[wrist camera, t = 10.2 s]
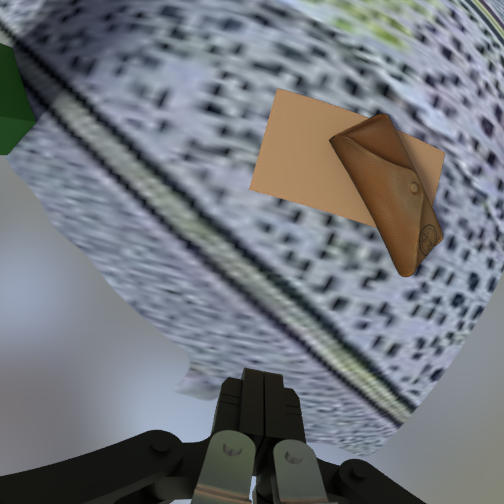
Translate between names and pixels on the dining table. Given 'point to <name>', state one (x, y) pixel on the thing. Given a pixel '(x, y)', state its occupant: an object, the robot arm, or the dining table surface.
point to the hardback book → (12, 103)
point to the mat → (323, 158)
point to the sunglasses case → (390, 190)
